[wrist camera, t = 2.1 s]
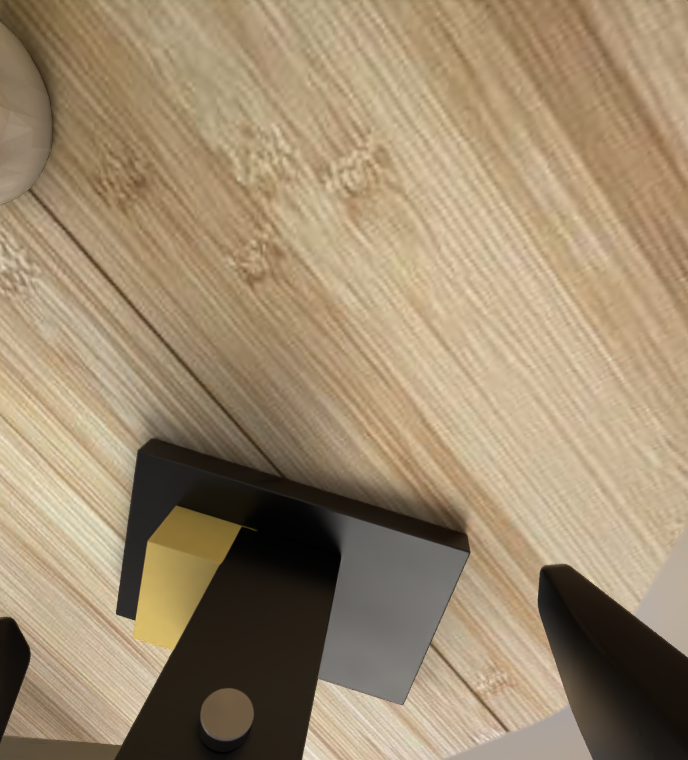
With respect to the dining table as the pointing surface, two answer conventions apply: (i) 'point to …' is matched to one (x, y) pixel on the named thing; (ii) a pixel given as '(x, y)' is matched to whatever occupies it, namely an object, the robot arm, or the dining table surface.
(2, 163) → the cupcake
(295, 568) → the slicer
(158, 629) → the butter
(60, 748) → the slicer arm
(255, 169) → the dining table surface
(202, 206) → the dining table surface
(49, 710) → the dining table surface
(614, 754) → the robot arm
